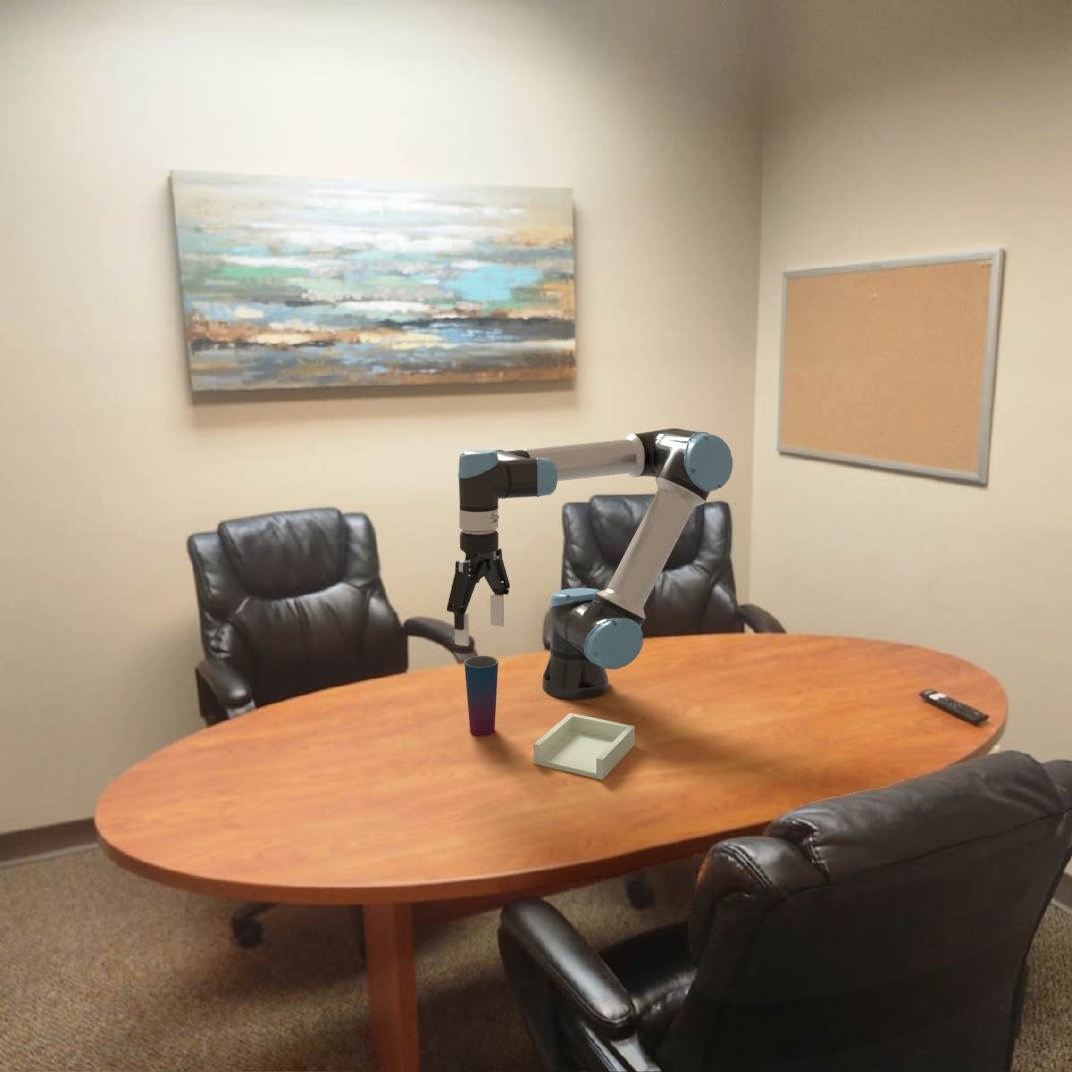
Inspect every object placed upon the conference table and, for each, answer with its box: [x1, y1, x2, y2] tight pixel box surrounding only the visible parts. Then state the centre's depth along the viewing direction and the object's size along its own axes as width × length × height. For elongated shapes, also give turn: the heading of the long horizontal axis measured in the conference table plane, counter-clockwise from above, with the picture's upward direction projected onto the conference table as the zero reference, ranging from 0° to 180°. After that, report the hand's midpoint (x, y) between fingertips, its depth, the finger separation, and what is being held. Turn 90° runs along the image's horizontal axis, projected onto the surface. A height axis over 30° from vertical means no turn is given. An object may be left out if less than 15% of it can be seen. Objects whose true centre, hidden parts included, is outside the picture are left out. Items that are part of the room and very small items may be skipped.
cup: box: [463, 655, 499, 737], centre depth 179 cm, size 7×7×15 cm
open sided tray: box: [533, 712, 636, 781], centre depth 170 cm, size 14×16×4 cm
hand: (480, 634), depth 176 cm, fingers open, 13 cm apart
